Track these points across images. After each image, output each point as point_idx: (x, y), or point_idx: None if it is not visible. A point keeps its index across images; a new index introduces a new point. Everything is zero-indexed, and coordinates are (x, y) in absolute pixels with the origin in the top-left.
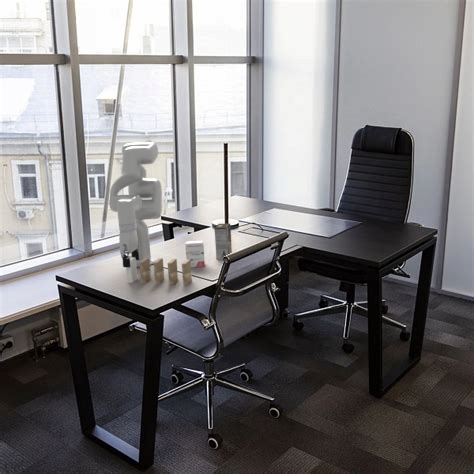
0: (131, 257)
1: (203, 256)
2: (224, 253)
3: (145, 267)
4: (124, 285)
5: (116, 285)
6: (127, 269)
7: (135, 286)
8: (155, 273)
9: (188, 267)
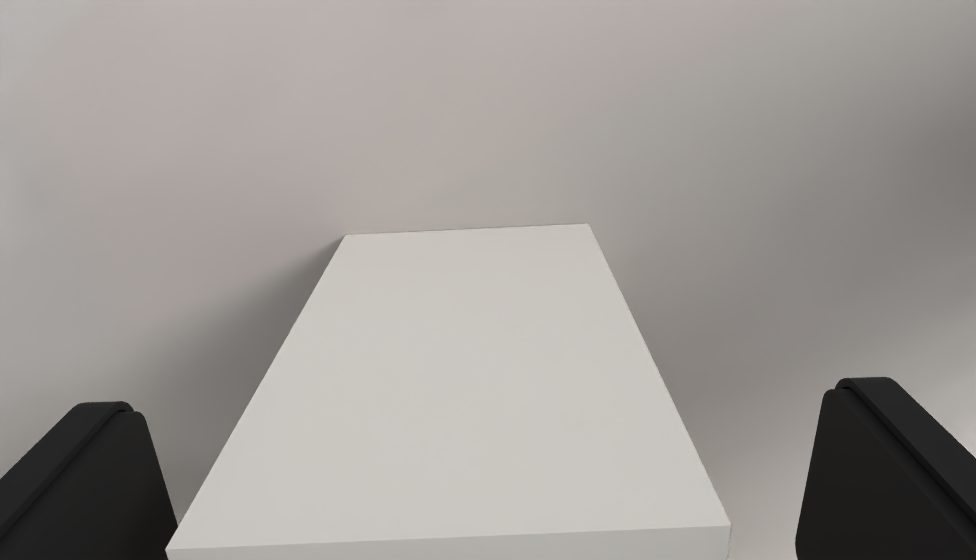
0: (709, 532)
1: None
2: None
3: None
4: (203, 235)
5: (148, 83)
6: (275, 383)
7: (225, 420)
8: None
9: None
